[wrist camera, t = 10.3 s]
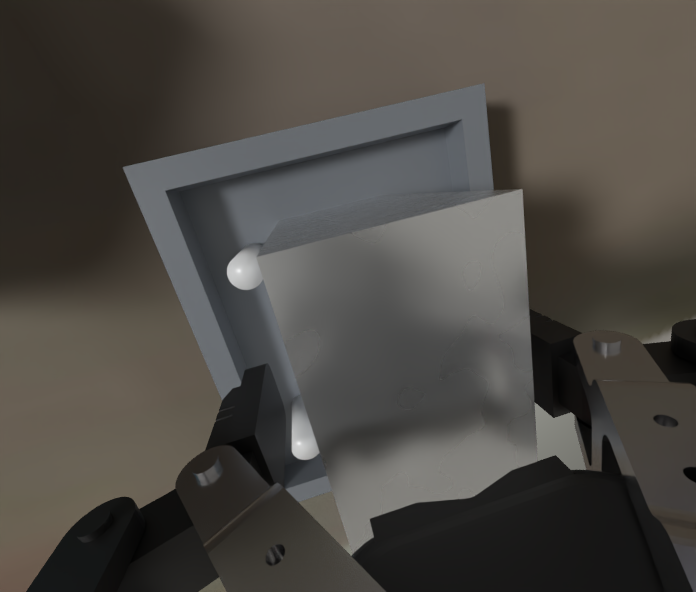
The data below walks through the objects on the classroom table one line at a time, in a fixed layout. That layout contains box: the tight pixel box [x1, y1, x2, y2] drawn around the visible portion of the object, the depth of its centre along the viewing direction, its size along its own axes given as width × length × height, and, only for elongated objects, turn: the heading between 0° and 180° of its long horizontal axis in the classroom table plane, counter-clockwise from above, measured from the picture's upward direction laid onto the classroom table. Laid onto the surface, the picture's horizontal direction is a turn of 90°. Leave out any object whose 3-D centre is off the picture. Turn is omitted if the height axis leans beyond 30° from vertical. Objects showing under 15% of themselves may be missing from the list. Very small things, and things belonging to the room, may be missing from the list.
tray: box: [123, 83, 494, 502], centre depth 14 cm, size 16×13×4 cm
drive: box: [256, 189, 538, 553], centre depth 11 cm, size 10×4×9 cm, turn 13°
